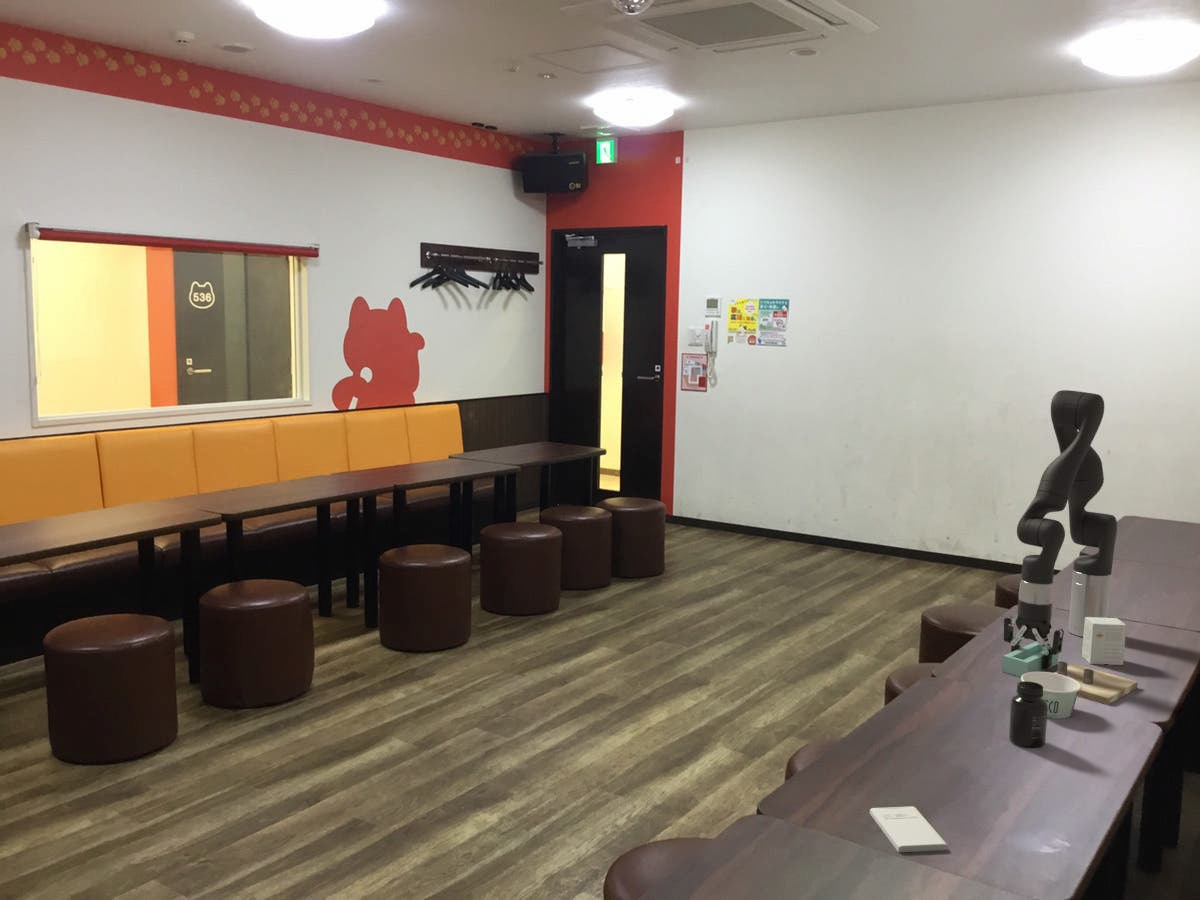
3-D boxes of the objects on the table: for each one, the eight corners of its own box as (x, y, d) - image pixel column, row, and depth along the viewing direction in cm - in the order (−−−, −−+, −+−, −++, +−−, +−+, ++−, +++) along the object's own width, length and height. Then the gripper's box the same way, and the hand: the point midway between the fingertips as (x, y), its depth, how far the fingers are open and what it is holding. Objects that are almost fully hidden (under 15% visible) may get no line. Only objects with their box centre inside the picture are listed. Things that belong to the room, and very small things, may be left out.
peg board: (1072, 669, 239) (1073, 651, 239) (1137, 687, 228) (1139, 669, 227) (1040, 684, 229) (1042, 666, 228) (1107, 704, 218) (1109, 685, 217)
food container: (1078, 705, 218) (1081, 676, 217) (1079, 725, 207) (1082, 695, 206) (1019, 695, 222) (1021, 667, 222) (1017, 714, 212) (1019, 685, 211)
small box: (1114, 658, 248) (1117, 617, 246) (1123, 665, 242) (1127, 624, 241) (1080, 656, 249) (1084, 616, 247) (1089, 664, 243) (1093, 623, 242)
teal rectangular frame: (1033, 657, 247) (1035, 642, 247) (1057, 664, 243) (1058, 648, 242) (1002, 671, 237) (1003, 655, 237) (1026, 678, 233) (1027, 662, 232)
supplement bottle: (1043, 738, 200) (1048, 681, 198) (1046, 752, 194) (1051, 693, 192) (1007, 733, 202) (1011, 677, 201) (1009, 746, 196) (1013, 689, 194)
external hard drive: (898, 855, 157) (869, 816, 169) (947, 853, 158) (915, 814, 170) (898, 846, 157) (869, 807, 169) (947, 843, 158) (915, 805, 170)
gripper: (1072, 602, 235) (1067, 669, 237) (1014, 589, 245) (1009, 653, 248) (1058, 608, 230) (1052, 676, 232) (999, 594, 241) (994, 659, 243)
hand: (1030, 664), depth 240 cm, fingers open, 7 cm apart
